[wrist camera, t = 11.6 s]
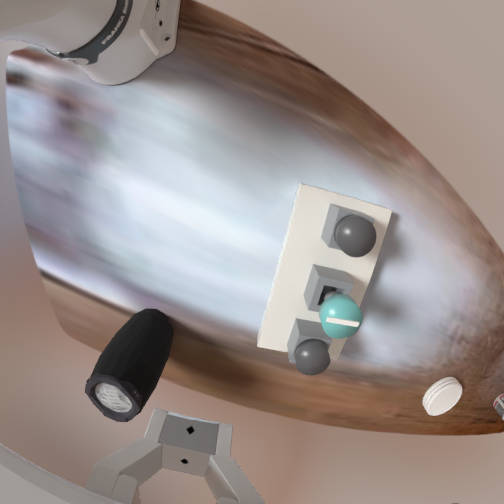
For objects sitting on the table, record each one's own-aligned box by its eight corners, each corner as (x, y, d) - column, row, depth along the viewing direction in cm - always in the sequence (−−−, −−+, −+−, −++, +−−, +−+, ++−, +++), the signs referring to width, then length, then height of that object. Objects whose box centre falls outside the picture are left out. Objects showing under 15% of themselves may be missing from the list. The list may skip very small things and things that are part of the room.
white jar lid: (425, 413, 58) (430, 422, 54) (417, 392, 55) (423, 402, 52) (459, 391, 56) (465, 399, 52) (453, 368, 54) (460, 377, 50)
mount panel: (298, 182, 43) (307, 187, 36) (384, 207, 44) (406, 216, 36) (257, 336, 51) (257, 365, 43) (334, 349, 51) (344, 377, 44)
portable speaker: (121, 313, 50) (68, 380, 31) (164, 299, 49) (120, 371, 30) (143, 352, 52) (104, 426, 34) (186, 340, 51) (157, 421, 33)
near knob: (332, 205, 40) (345, 213, 34) (364, 214, 40) (381, 223, 34) (323, 238, 41) (333, 252, 35) (354, 246, 41) (369, 261, 35)
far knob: (297, 322, 45) (302, 345, 39) (326, 327, 45) (335, 350, 39) (288, 347, 46) (291, 372, 40) (316, 352, 47) (323, 376, 41)
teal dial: (319, 277, 39) (330, 300, 32) (353, 285, 39) (368, 307, 33) (309, 310, 40) (317, 336, 34) (341, 316, 40) (354, 342, 34)
